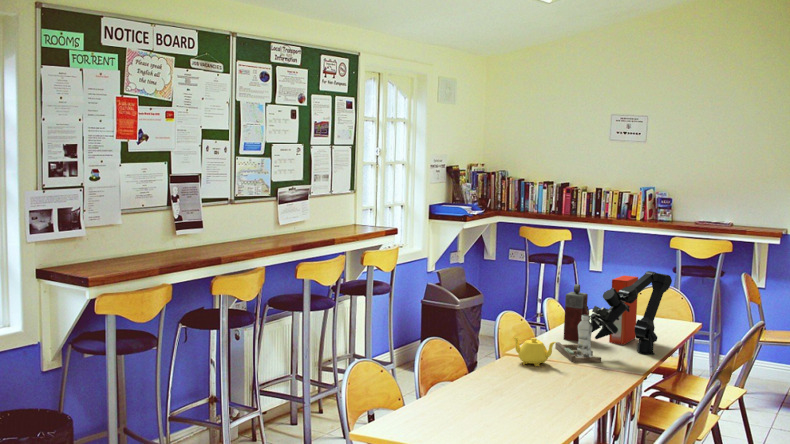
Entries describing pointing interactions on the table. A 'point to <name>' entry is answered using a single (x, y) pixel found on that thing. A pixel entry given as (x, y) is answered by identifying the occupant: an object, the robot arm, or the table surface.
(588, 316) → the plastic bottle
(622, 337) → the file binder
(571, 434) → the table surface
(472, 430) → the table surface
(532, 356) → the teapot
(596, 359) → the comb rack
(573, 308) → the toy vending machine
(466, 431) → the table surface
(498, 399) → the table surface
